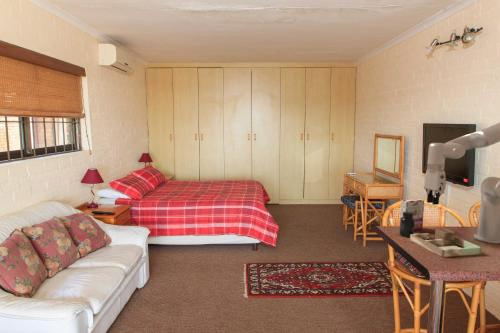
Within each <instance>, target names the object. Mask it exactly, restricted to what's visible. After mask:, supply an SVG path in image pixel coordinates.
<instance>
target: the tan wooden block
mask: <svg viewBox="0 0 500 333" xmlns="http://www.w3.org/2000/svg"><path fill="white" fill-rule="evenodd" d="M434 231H435V232H434V240H436V239H442V240H443V242H442V246H453V245H455V243H454V241H455V236H456V232H454V231H453V230H450V229H448V228H436V229H435V230H434ZM452 244H453V245H452Z"/></svg>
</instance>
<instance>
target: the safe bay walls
mask: <svg viewBox="0 0 500 333" xmlns="http://www.w3.org/2000/svg"><path fill="white" fill-rule="evenodd" d="M439 248H441V249H456V248H460V249H462V250H461V256H462V257H463V256H473V255H481V254H482V250H483V249H482V246H479V245H477V244H474V243H472V242H470V241H468V240H465V241H464V246H463V247H459V246H457V245H445V246H442V247H439ZM461 256H460V257H461Z"/></svg>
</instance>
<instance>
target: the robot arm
mask: <svg viewBox="0 0 500 333" xmlns="http://www.w3.org/2000/svg"><path fill="white" fill-rule="evenodd" d="M499 142H500V122H497V123H495V124H492V125H490V126H488V127H486V128H483V129H481V130H478V131H474V132H471V133H469V134H465V135H462V136H459V137H457V138H454V139H452V140H449V141H447V142H444V143H442V142H431V143H430V144H429V145H428V155H427V164H426V165H427V167H426V172H425V177H424V186H423V188H424V190H425V192H426V195H427V197H426V203H429V204H432V205H434V206H435V205H436V206H437V205H439V204H440V197H441V196H442V195H443V194H445V192H446V191H445V190H446V183H447V182H446V179H447V178H446V172H445V162H446V158H447V159H456V160H457V159H460V158H462V157H464V156H465V154H466V151H468V150H472V149H481V148H487V147H490V146H492V145H495V144H497V143H499ZM473 238H474V239H476V240H478V241H480V242H483V243H489V244H497V245H498V244H500V177H497V176H488V177H486V178H484V179H483V180H482V181H481V184H480V208H479V216H478V228H477V233H474V234H473Z"/></svg>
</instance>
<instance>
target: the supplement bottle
mask: <svg viewBox="0 0 500 333" xmlns="http://www.w3.org/2000/svg"><path fill="white" fill-rule="evenodd" d="M399 220H400V221H399V232H398V233H399V235H400V236H402V237H404V238H410V234H415V230H414V225H415V220H414V218H413V213H412V212H403V217H401V219H399Z"/></svg>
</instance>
